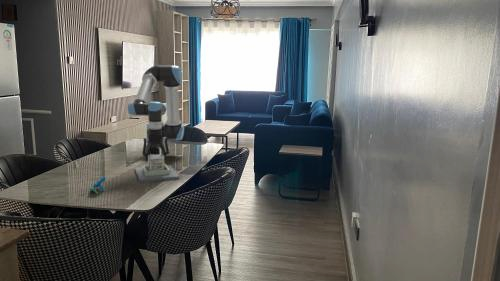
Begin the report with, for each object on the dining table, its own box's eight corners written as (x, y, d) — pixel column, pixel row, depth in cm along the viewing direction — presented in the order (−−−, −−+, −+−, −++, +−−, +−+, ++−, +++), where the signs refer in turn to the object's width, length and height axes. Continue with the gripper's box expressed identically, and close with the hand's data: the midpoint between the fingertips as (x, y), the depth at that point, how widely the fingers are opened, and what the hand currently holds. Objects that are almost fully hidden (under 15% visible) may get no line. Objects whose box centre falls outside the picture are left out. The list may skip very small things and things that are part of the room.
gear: (97, 183, 202) (107, 173, 198) (105, 191, 202) (115, 181, 198) (83, 193, 192) (93, 181, 188) (92, 201, 192) (102, 190, 188)
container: (151, 171, 222) (150, 149, 220) (148, 167, 229) (147, 146, 226) (164, 169, 226) (163, 148, 223) (160, 166, 232) (160, 145, 230)
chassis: (134, 169, 235) (134, 163, 235) (170, 167, 244) (170, 161, 243) (139, 182, 212) (139, 175, 211) (179, 178, 220) (179, 172, 220)
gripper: (137, 130, 215) (138, 168, 220) (174, 128, 223) (174, 166, 228) (136, 127, 222) (137, 165, 226) (171, 126, 230) (172, 163, 234)
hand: (156, 165), depth 227 cm, fingers closed on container, 8 cm apart
